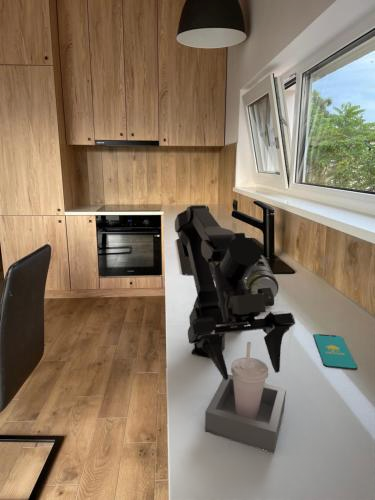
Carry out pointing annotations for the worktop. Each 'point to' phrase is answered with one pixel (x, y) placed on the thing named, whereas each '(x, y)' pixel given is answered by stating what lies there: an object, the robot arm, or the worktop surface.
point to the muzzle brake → (263, 277)
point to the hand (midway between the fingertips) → (252, 375)
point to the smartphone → (334, 352)
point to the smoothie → (248, 384)
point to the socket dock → (241, 428)
